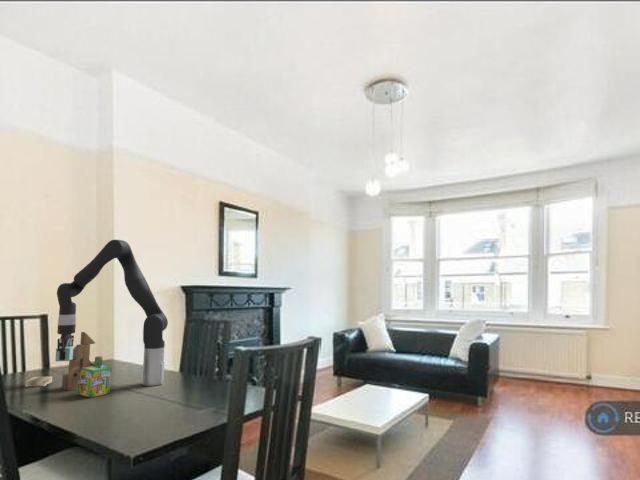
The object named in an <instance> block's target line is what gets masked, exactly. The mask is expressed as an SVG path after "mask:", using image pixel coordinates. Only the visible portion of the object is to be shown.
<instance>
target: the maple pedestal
mask: <svg viewBox="0 0 640 480" xmlns="http://www.w3.org/2000/svg"><path fill="white" fill-rule="evenodd" d="M52 382H53V376H34V377H33V376H32V377H31V378H29V379H27V380H25V387H27V388H28V386H34V387H46V386H47V384H48V385H50V384H51V383H52Z"/></svg>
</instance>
